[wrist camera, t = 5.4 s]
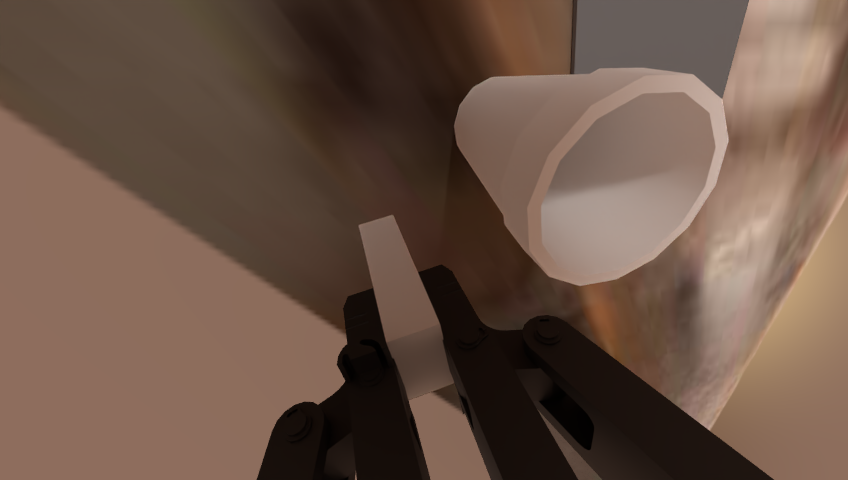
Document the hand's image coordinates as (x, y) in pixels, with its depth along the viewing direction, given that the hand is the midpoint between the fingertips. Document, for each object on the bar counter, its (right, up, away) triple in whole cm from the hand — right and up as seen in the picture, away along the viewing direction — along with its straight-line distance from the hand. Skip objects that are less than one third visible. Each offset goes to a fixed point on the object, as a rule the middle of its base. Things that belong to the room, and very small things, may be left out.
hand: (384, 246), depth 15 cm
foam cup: (+7, +9, +10) cm, 15 cm away
